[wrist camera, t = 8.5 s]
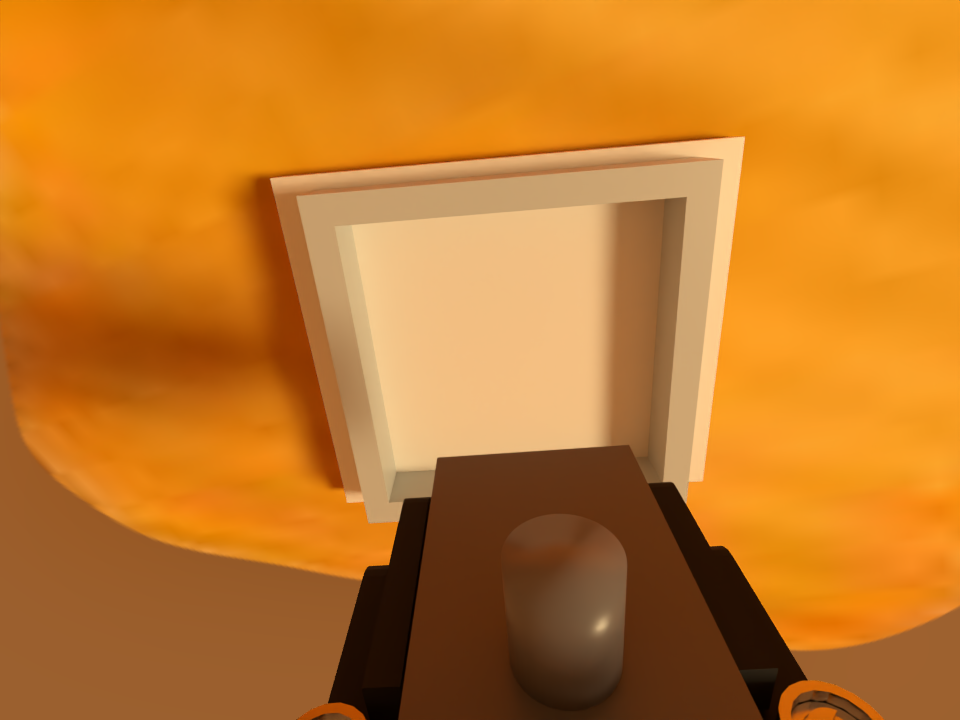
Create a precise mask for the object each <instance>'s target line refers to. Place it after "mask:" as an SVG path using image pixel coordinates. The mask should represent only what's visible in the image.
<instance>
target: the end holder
mask: <svg viewBox="0 0 960 720" xmlns="http://www.w3.org/2000/svg"><path fill="white" fill-rule="evenodd" d="M744 140H745V137H722V138H711V139H700V140H688V141H677V142H666V143H654V144H643V145H631V146H620V147H609V148H597V149H586V150H575V151H563V152H552V153H541V154H529V155H518V156H507V157H495V158H484V159H472V160H461V161H450V162H438V163H427V164H416V165H404V166H393V167H382V168H370V169H359V170H348V171H336V172H325V173H313V174H302V175H291V176H280V177H275V178H270V181H271V185H272V189H273V193H274V197H275V202H276V206H277V210H278V214H279V218H280V222H281V227H282V231H283V235H284V239H285V243H286V248H287V252H288V256H289V260H290V264H291V269H292V273H293V277H294V281H295V285H296V290H297V294H298V298H299V302H300V306H301V310H302V315H303V319H304V323H305V327H306V331H307V336H308V340H309V344H310V348H311V352H312V357H313V361H314V365H315V369H316V373H317V378H318V382H319V386H320V390H321V394H322V398H323V403H324V407H325V411H326V415H327V419H328V424H329V428H330V432H331V436H332V440H333V445H334V449H335V453H336V457H337V461H338V466H339V470H340V474H341V478H342V482H343V486H344V491H345V495H346V499H347V503H352V502H364V504H365V509H366V513H367V518H368V522H369V523H382V522H399V519H400V514H401V510H402V505H403V501H404V499H405V498H420V497H431V496H432V490H433V483H434V476H435V469H436V463H437V458H438V457H453V456H468V455H483V454H498V453H513V452H528V451H544V450H559V449H574V448H589V447H604V446H619V445H629V446H630V448H631V450H632V452H633V454H634V456H635V458H636V460H637V462H638V464H639V466H640V468H641V470H642V472H643V474H644V476H645V479H646V481H647V483H659V482H673V483H674V484H675V486H676V488H677V489H678V491H679V493H680V495H681V496H682V498H683V500H684V502H685V503H686V501H687V492H688V483H689V482H696V481H703V474H704V466H705V458H706V450H707V442H708V434H709V426H710V417H711V409H712V401H713V393H714V385H715V377H716V368H717V360H718V352H719V344H720V336H721V328H722V320H723V311H724V303H725V295H726V287H727V279H728V271H729V263H730V254H731V246H732V238H733V230H734V222H735V214H736V205H737V197H738V189H739V181H740V173H741V165H742V157H743V148H744Z"/></svg>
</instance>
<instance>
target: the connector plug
mask: <svg viewBox="0 0 960 720" xmlns="http://www.w3.org/2000/svg"><path fill="white" fill-rule="evenodd" d="M398 720H763V718H762V716H761V714H760V712H759V710H758V708H757V706H756V704H755V702H754V700H753V698H752V696H751V694H750V692H749V690H748V688H747V686H746V683H745V681H744V679H743V677H742V675H741V673H740V671H739V669H738V667H737V665H736V663H735V661H734V659H733V657H732V655H731V653H730V651H729V649H728V647H727V645H726V643H725V640H724V638H723V636H722V634H721V632H720V630H719V628H718V626H717V624H716V622H715V620H714V618H713V616H712V614H711V612H710V610H709V608H708V606H707V604H706V602H705V599H704V597H703V595H702V593H701V591H700V589H699V587H698V585H697V583H696V581H695V579H694V577H693V575H692V573H691V571H690V569H689V567H688V565H687V563H686V561H685V558H684V556H683V554H682V552H681V550H680V548H679V546H678V544H677V542H676V540H675V538H674V536H673V534H672V532H671V530H670V528H669V526H668V524H667V522H666V520H665V517H664V515H663V513H662V511H661V509H660V507H659V505H658V503H657V501H656V499H655V497H654V495H653V493H652V491H651V489H650V487H649V485H648V483H647V481H646V479H645V476H644V474H643V472H642V470H641V468H640V466H639V464H638V462H637V460H636V458H635V456H634V454H633V452H632V450H631V448H630V446H629V445H619V446H604V447H589V448H574V449H559V450H544V451H528V452H513V453H498V454H483V455H468V456H453V457H438V458H437V463H436V469H435V476H434V483H433V490H432V496H431V503H430V510H429V516H428V523H427V530H426V537H425V543H424V550H423V557H422V564H421V570H420V577H419V584H418V590H417V597H416V604H415V611H414V617H413V624H412V631H411V638H410V644H409V651H408V658H407V664H406V671H405V678H404V685H403V691H402V698H401V705H400V712H399V718H398Z"/></svg>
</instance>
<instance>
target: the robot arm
mask: <svg viewBox="0 0 960 720" xmlns="http://www.w3.org/2000/svg"><path fill="white" fill-rule="evenodd" d="M648 485H649V487H650V489H651V491H652V493H653V495H654V497H655V499H656V501H657V503H658V505H659V507H660V509H661V511H662V513H663V515H664V517H665V520H666V522H667V524H668V526H669V528H670V530H671V532H672V534H673V536H674V538H675V540H676V542H677V544H678V546H679V548H680V550H681V552H682V554H683V556H684V558H685V561H686V563H687V565H688V567H689V569H690V571H691V573H692V575H693V577H694V579H695V581H696V583H697V585H698V587H699V589H700V591H701V593H702V595H703V597H704V599H705V602H706V604H707V606H708V608H709V610H710V612H711V614H712V616H713V618H714V620H715V622H716V624H717V626H718V628H719V630H720V632H721V634H722V636H723V638H724V640H725V643H726V645H727V647H728V649H729V651H730V653H731V655H732V657H733V659H734V661H735V663H736V665H737V667H738V669H739V671H740V673H741V675H742V677H743V679H744V681H745V683H746V686H747V688H748V690H749V692H750V694H751V696H752V698H753V700H754V702H755V704H756V706H757V708H758V710H759V712H760V714H761V716H762V718H763V720H884V719H883V718H882V717H881V716H880V715H879V714H878V713H877V712H876V711H875V710H874V709H873V708H872V707H871V706H870V705H869V704H867V703H866V702H864V701H863V700H862V699H860V698H859V697H857V696H856V695H855V694H853V693H851V692H849V691H847V690H845V689H843V688H840V687H838V686H836V685H833V684H830V683H825V682H821V681H816V680H815V681H808V680H807V678H806V677H805V675H804V673H803V672H802V670H801V668H800V667H799V665H798V664H797V662H796V660H795V659H794V657H793V655H792V654H791V652H790V650H789V649H788V647H787V645H786V644H785V642H784V640H783V639H782V637H781V635H780V634H779V632H778V630H777V629H776V627H775V626H774V624H773V622H772V621H771V619H770V617H769V616H768V614H767V612H766V611H765V609H764V607H763V606H762V604H761V602H760V601H759V599H758V597H757V596H756V594H755V593H754V591H753V589H752V588H751V586H750V584H749V583H748V581H747V579H746V578H745V576H744V574H743V573H742V571H741V569H740V568H739V566H738V564H737V563H736V561H735V560H734V558H733V556H732V555H731V553H730V552H729V551H728V549H726V548H725V547H723V546H712V547H710V546H709V544H708V542H707V541H706V539H705V537H704V535H703V534H702V532H701V530H700V528H699V527H698V525H697V523H696V521H695V519H694V518H693V516H692V514H691V512H690V511H689V509H688V507H687V505H686V503H685V502H684V500H683V498H682V496H681V495H680V493H679V491H678V489H677V488H676V486H675V484H674V483H673V482H659V483H648ZM430 503H431V497H420V498H405V499H404V501H403V505H402V510H401V514H400V519H399V523H398V527H397V532H396V536H395V541H394V545H393V550H392V554H391V559H390V563H389V565H383V566H368V567H367V569H366V570H365V573H364V576H363V579H362V583H361V587H360V590H359V594H358V597H357V601H356V604H355V608H354V612H353V615H352V619H351V623H350V626H349V630H348V633H347V637H346V640H345V644H344V647H343V651H342V655H341V658H340V662H339V665H338V669H337V673H336V676H335V680H334V684H333V687H332V691H331V694H330V698H329V701H328V704H324V705H321V706H318V707H316V708H313V709H311V710H309V711H308V712H306V713H305V714H304V715H302V716H301V717H299V718H298V719H296V720H398V718H399V712H400V705H401V698H402V691H403V685H404V678H405V671H406V664H407V658H408V651H409V644H410V638H411V631H412V624H413V617H414V611H415V604H416V597H417V590H418V584H419V577H420V570H421V564H422V557H423V550H424V543H425V537H426V530H427V523H428V516H429V510H430Z"/></svg>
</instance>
